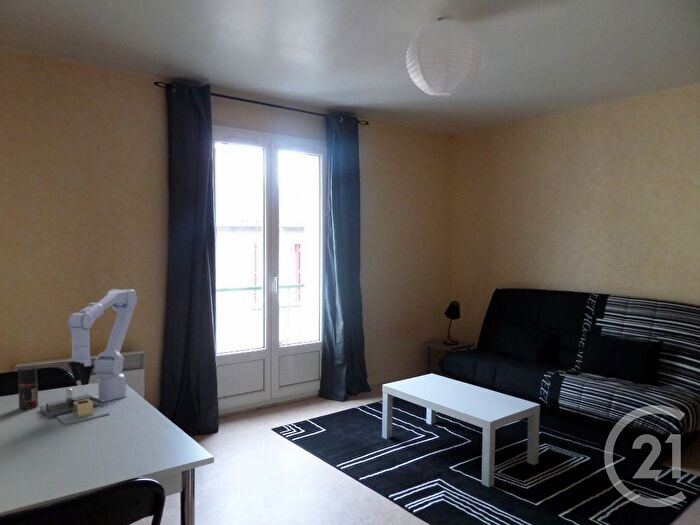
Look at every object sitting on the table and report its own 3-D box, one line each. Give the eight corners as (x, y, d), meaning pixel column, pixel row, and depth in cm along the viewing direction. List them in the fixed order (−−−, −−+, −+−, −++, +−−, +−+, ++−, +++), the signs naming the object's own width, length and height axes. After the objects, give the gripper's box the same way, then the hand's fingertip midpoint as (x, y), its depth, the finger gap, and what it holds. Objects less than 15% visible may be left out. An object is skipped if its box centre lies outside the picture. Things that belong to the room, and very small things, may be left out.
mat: (99, 408, 182) (99, 406, 182) (109, 414, 176) (109, 412, 175) (57, 418, 172) (57, 416, 172) (66, 425, 165) (66, 423, 165)
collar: (88, 411, 177) (88, 398, 177) (93, 414, 174) (93, 402, 174) (73, 414, 174) (72, 402, 174) (77, 418, 170) (77, 405, 170)
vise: (87, 400, 191) (86, 381, 191) (98, 407, 183) (97, 387, 183) (40, 410, 180) (39, 390, 180) (49, 418, 172) (49, 397, 171)
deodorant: (31, 410, 180) (29, 370, 180) (15, 410, 180) (14, 370, 180) (41, 405, 186) (40, 366, 186) (26, 405, 186) (25, 366, 186)
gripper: (62, 344, 181) (62, 381, 181) (75, 350, 171) (76, 388, 171) (83, 342, 186) (83, 377, 187) (96, 347, 176) (97, 384, 177)
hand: (81, 382), depth 179 cm, fingers open, 7 cm apart
